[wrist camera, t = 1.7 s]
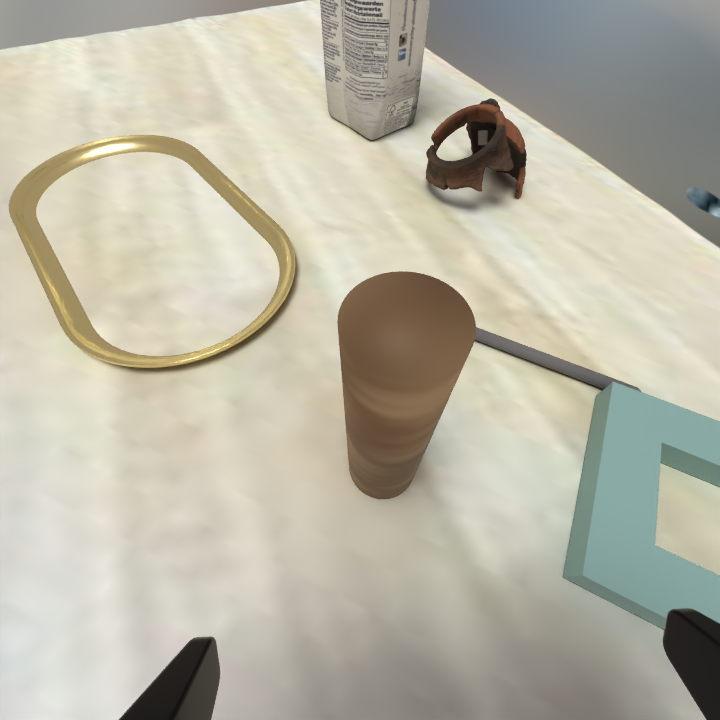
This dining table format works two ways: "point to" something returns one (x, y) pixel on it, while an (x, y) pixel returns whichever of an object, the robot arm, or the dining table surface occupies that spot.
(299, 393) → the dining table surface
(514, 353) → the grey thin rod
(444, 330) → the dowel
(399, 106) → the juice carton
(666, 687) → the dining table surface
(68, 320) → the gold oval loop
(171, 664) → the robot arm
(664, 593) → the square ring
